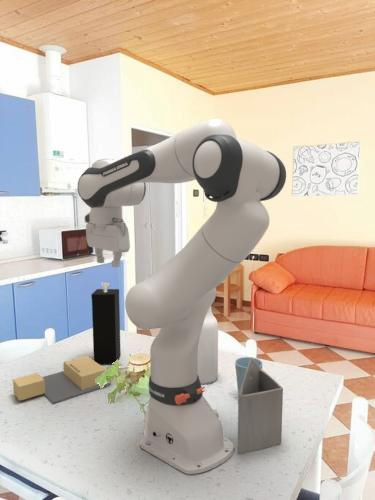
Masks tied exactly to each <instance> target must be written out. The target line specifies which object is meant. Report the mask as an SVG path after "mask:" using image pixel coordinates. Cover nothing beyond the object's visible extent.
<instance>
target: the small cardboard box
mask: <svg viewBox="0 0 375 500" xmlns="http://www.w3.org/2000/svg"><path fill="white" fill-rule="evenodd" d="M42 377H43V376H41V374H39V373H38V372H36V373H32V374H28V375H25V376H20V377H17V378H13V379H12V386H13V394H14V395H15V397H16V398H17V400H18V401H24V400H27V399H31V398H34V397H37V396H40V395H44V393H45V380H44V379H43V378H42Z"/></svg>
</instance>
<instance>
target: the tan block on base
mask: <svg viewBox="0 0 375 500" xmlns="http://www.w3.org/2000/svg"><path fill="white" fill-rule="evenodd" d="M105 370H107V368H105V367H103V365H102V364H98V363H96V362H95V361H94V359H92V358H91V357H90V356H88V355H85V356H80V357H77V358H74V359H69V360H65V361H63V370H62V371H59V372H56V373H51V374H48V375H45V376H41V377H42V378H43V379H44V380H45V393H44V394H43V395H44V396H45V398H47V399H48V401H49V402H50V403H51V405H55V404H58V403H62V402H64V401H67V400H71V399H74V398H77V397H80V396H83V395H86V394H89V393H93V392H96V391H98V390H101V389H100V386H99V384H97V383H95V379H96V378H97V377H98V376H100V375H101V374H102V373H103V372H104V371H105ZM110 385H111V386H112V383H111V382H110V383H107V384H105V385H104V387H103V388H102V389H104V388H107V386H108V387H111V386H110Z"/></svg>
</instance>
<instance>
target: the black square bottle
mask: <svg viewBox="0 0 375 500" xmlns="http://www.w3.org/2000/svg"><path fill="white" fill-rule="evenodd" d="M100 283H101V286H102V288H97V289H95V290H94V292H92V293H91V294H90V295H91V307H92V308H91V312H92V313H91V314H92V315H91V316H92V317H91V319H92V341H93V342H92V343H93V344H92V345H93V349H92V351H93V360H94V361H95V362H96V363H98V364H99V365H113V364H112V363H113V362H115V361H116V360H117V359H119V360H120V358H121V355H122V354H121V351H122V350H121V316H120V314H121V313H120V289H119V288H109V287H110V286H111V283H109V282H105V281H103V282H102V281H101V282H100Z"/></svg>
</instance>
